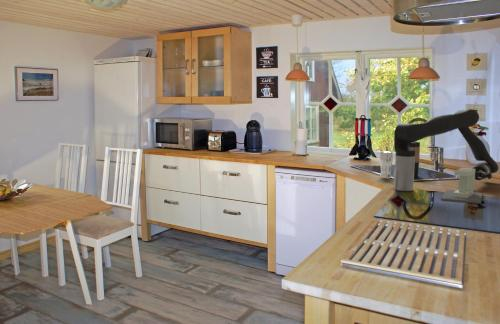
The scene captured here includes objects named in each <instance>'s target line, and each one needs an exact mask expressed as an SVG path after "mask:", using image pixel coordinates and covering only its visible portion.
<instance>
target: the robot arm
mask: <svg viewBox="0 0 500 324" xmlns="http://www.w3.org/2000/svg"><path fill="white" fill-rule="evenodd" d="M479 120H480V115H479V113H478V112H477V110H475V109H472V108H469V109H468V108H467V109H461V110H460V109H459V110H457V111H455V112H454V113H452V114H451V113H450V114H442V115H438V116H433V117H430V118H429V119H427V120H426V122H422V123H408V122H407V123H406V122H400V123H398V124H397V125H396V127H395V129H394V134H393V136H394V137H393V140H394V143H393V144H394V146H393V147H394V148H393V149H394V152H395V158H394V159H395V162H394V169H393V181H392V182H393V184H392V185H393V186H392V187H393V188H392V189H393V190H394V191H401V192H411V191H414V185H415V184H414V182H415V181H414V180H415V177H414V166H415V150H414V149H412V148H411V147H410V146H409V142H410V143H411V142H419V141H420V140H422V139H425V138H427V137H429V138H430V137H433V136H438V135H442V134H446V133H448V132H451V131H454V130H458V131H459V133H460V134H461V135H462V137H463V139H464V140H465V141H466V143H467V144H468V146H469V148H470V150H471V153H472V155H473V156H474V159H475V161H476V162H477V161H478V162H479V163H477V164H476V165H475V166H473V167H472V168H471V169H475V181H482V180H486V179H488V180H491V179H492V178H493V174H496V173H497V172H498V171H499V164H498V163H497V162H496V161H495V160H494V158H493V157H492V156H491V154H489V152H488V150H487V146H486V145H485V143H484V142H483V140H481V139H480V138H479V136H477V135H476V134H475V133H474V132H473V130H471V128H470V127H473V126H476V125H477V124H478V122H479Z"/></svg>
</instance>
